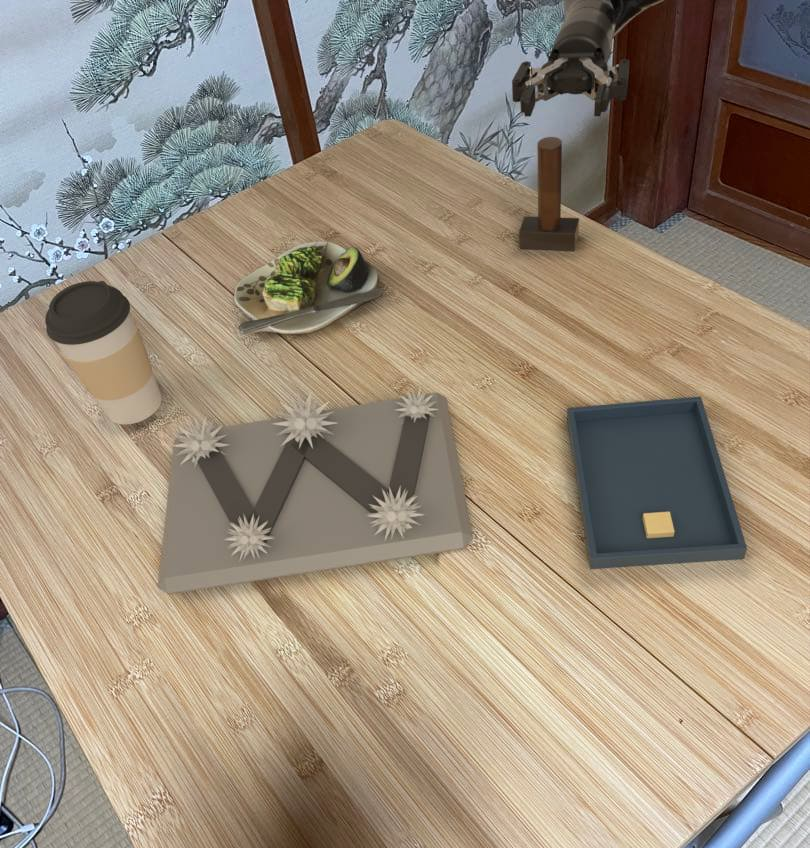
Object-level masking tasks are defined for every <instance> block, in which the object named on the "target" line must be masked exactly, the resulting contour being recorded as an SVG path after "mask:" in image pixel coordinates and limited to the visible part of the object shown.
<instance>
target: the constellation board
mask: <svg viewBox="0 0 810 848" xmlns="http://www.w3.org/2000/svg"><path fill="white" fill-rule="evenodd" d="M421 388H422V387H421V386H420V387H419V390H418V392H417V395H416V394H415V392H414V389H413V388H411V392H410V391H409V390H405V392H406V395H407V396H403V395H401V394H398V395H399V398H393V399H392V398H391V399H386V400H380V401H374V402H366V403H361V404H356V405H348V406H344V407H343V406H342V407H337V408H331V409H325V408H326V406H327V405H328V404H329V402H330V400H328V401H327V402H325V403H323V404H322V405H320V406H319V407H317V408H316V406H317V401H318V398H319V397H318V396H319V394H316V396H315V398H314V399H313V401H312V398H311V395H312V389H310V391H309V393H308V396H307V399H306V401H305V403H304V402H303V400H302V397H301V395H300V392H299V390H298V389H297V398H296V399H297V401H296V400H295V398H294V397H293V395H292V394H291V393H290V398H291V400H292V401H291V402H292V405H293V408H292V407H290V406H288V405H287V404H285V403H283V402H282V401H279V403H280V404H281V406H282V407H283V408H284V409H285V410H286V411H287V412H288V413H283V412H278V411H276V412H274V413H275V414H277V415H278V416H280V417H275V418H268V419H263V420H255V421H251V422H245V423H238V424H231V425H226V426H224V425H221V426H219V427H213V424H214V420H215V419H210V422H208V423H207V417H204V420H203V423H202V425H201V427H200V424H199V422H198V420H197V418H196V416H195V415H193V416H194V424H193V422H192V421H191V420H188V419H186V421H187V425H188V427H189V430H190V431H189V430H188V429H186V428H184V427H182V426H181V425H179V426H178V429H179V430H180V431H182V433H179V434H176V435H173V437H174V438H175V439H174V440H173V445H172V444H171V447H172V454H171V463H170V473H169V482H168V490H167V500H166V509H165V516H164V526H163V535H162V544H161V552H160V553H161V555H160V562H159V571H158V578H157V579H158V580H157V587H158V588H159V589H160V590H161V591H162V592H164V593H165V594H166V595H177V594H182V593H188V592H196V591H202V590H209V589H214V588H221V587H226V586H233V585H235V586H236V585H240V584H247V583H253V582H260V581H266V580H273V579H280V578H286V577H291V576H292V577H293V576H299V575H305V574H311V573H317V572H325V571H330V570H331V571H332V570H337V569H344V568H351V567H357V566H363V565H369V564H375V563H382V562H388V561H396V560H401V559H409V558H415V557H420V556H421V557H422V556H428V555H433V554H434V555H435V554H440V553H441V554H442V553H447V552H453V551H461V550H465V549H466V548H467V546H468V545H469V544H470V543H471V542H472V541H473V539H474V536H473V530H472V525H471V519H470V513H469V509H468V505H467V504H468V503H467V499H466V493H465V489H464V483H463V477H462V472H461V467H460V461H459V456H458V452H457V446H456V440H455V436H454V435H455V434H454V430H453V425H452V419H451V415H450V409H449V403H448V399H447V397H446V396H445V395H442V394H440V393H439V392H437V391H435V392H430V393H429V392H428V393H426V392H427V390H423V391H422V393H421V390H422V389H421ZM324 409H325V410H324ZM194 425H195V426H194Z"/></svg>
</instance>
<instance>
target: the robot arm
mask: <svg viewBox="0 0 810 848" xmlns="http://www.w3.org/2000/svg"><path fill="white" fill-rule="evenodd" d="M665 1H666V0H562V3H563V14H564V20H563V23H562V25H561V26H560V28H559V30H558V33H557V34H556V38H555V40H554V42H553V46H552V48H551V50H550V53H549V56H548V58H547V62H545V63H543V64H542V65H541V67H533V66H532V63H531V61H523V62H521V63H520V65H519V67H518V69H517V70H516V72H515V74H514V76H513V78H512V80H511V90H512V91H511V93H512V102H513V103H520V113H524V117H532V115H533V111H534V108H535V106H536V103H537V102H540V101H545V102H547V101H549V100H551V99H553V98H555V97H556V96H559V95H560V96H562V95H564V94H569V95H585V96H586V97H587V98H589V99H590V100H591V101H594V112H593V116H594V117H601V115H602V113H605V112H607V111H608V108H609V104H610V103H611V101H612V100H613V99H615V100H616V101H618V102H623V101H625V100H627V93H628V85H629V72H630V60H629V59H627V58H624V59H619V61H618V62H619V63H618V64H616V65H614V66H613V65H612V66H611V65H610V66H609V65H608V62H609V60H610V59H611V54H612V48H613V38H614V37H615V36H617V35H618V34H619V33H620V32H621V31H622V30H623V29H624V28H625V27H626V26H627V25H628V24H629V23H630V22H631V21H632V20H633V19H635V18H636V17H637V16H638V15H640V14H641V13H643V12H644V11H645V10H647V9H649V8H651V7H653V6H656V5H658V4H661V3H662V2H665ZM536 87H537V89H536Z"/></svg>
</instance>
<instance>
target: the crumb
mask: <svg viewBox="0 0 810 848" xmlns="http://www.w3.org/2000/svg"><path fill="white" fill-rule="evenodd" d="M643 523H644V528H645V533H646V538H662V537H673V536H674V532H675V531H674V527H673V523H672V518H671V514H670V512H656V513H644V514H643Z"/></svg>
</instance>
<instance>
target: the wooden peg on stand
mask: <svg viewBox="0 0 810 848" xmlns="http://www.w3.org/2000/svg"><path fill="white" fill-rule="evenodd" d="M536 147H537V216H527V215H526V216H523V219H522V222H521V226H520V227H519V231H518V236H519V239H518V240H519V241H518V242H519V250H533V251H534V250H535V251H560V252H561V251H563V252H575V251H576V247H577V244H578V240H579V234H580V218H579V217H562V215H561V214H562V213H561V212H562V166H563V165H562V163H563V162H562V161H563V160H562V159H563V158H562V157H563V156H562V154H563V141H562V139H560V138H559V137H556V136H547V137H543V138H541V139H539V140H538V142H537V145H536Z"/></svg>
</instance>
